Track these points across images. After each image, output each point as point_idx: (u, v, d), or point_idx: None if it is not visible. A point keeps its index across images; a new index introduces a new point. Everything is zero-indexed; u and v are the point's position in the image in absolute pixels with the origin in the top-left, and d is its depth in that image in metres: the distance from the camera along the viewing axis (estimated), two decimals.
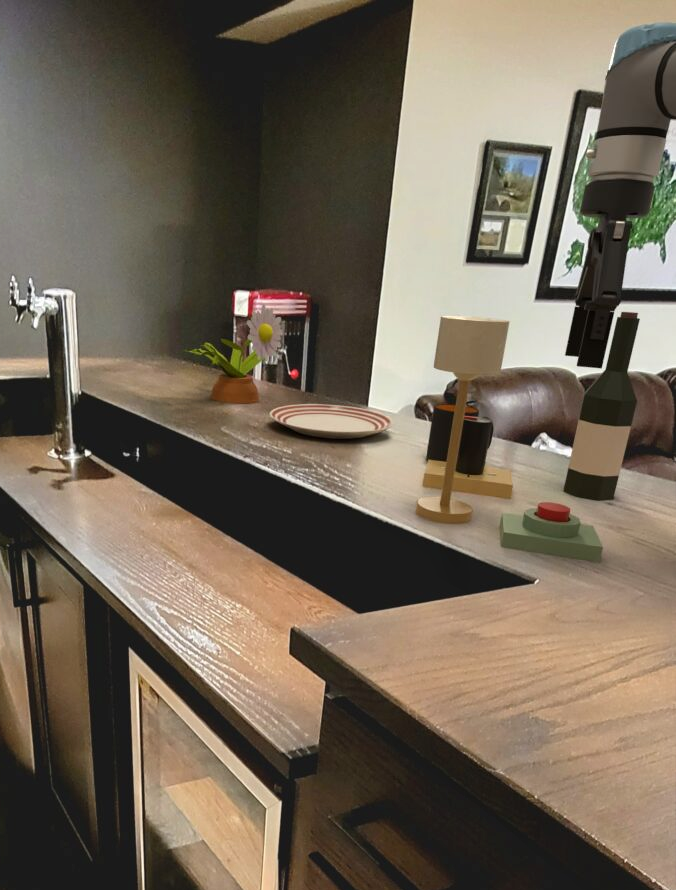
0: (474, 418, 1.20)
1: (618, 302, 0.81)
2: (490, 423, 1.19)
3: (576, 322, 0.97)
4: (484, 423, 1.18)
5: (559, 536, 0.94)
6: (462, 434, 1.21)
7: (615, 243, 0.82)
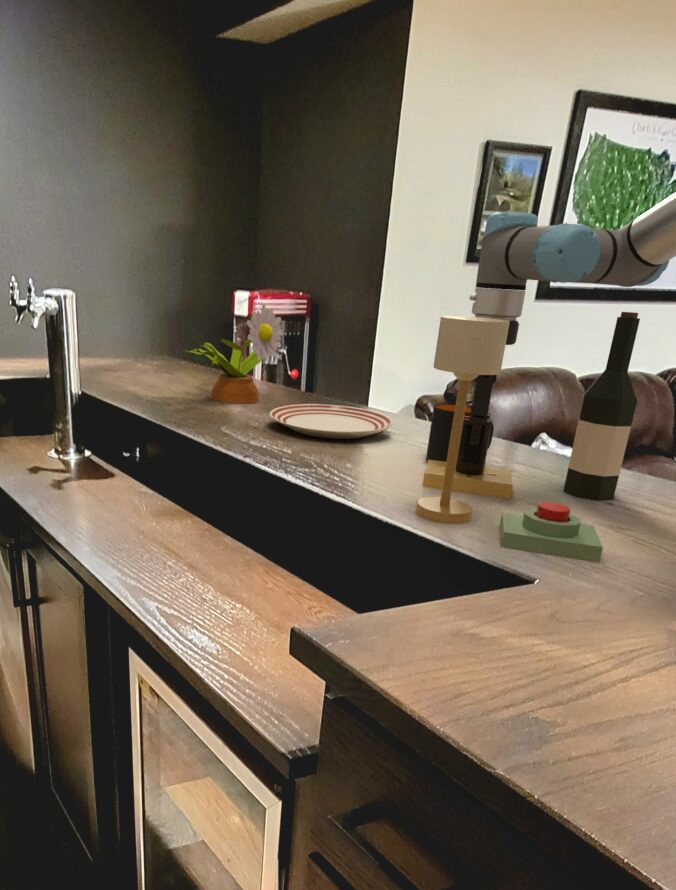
0: None
1: (485, 423, 1.15)
2: (490, 423, 1.19)
3: None
4: None
5: (559, 536, 0.94)
6: (462, 434, 1.21)
7: (484, 378, 1.13)
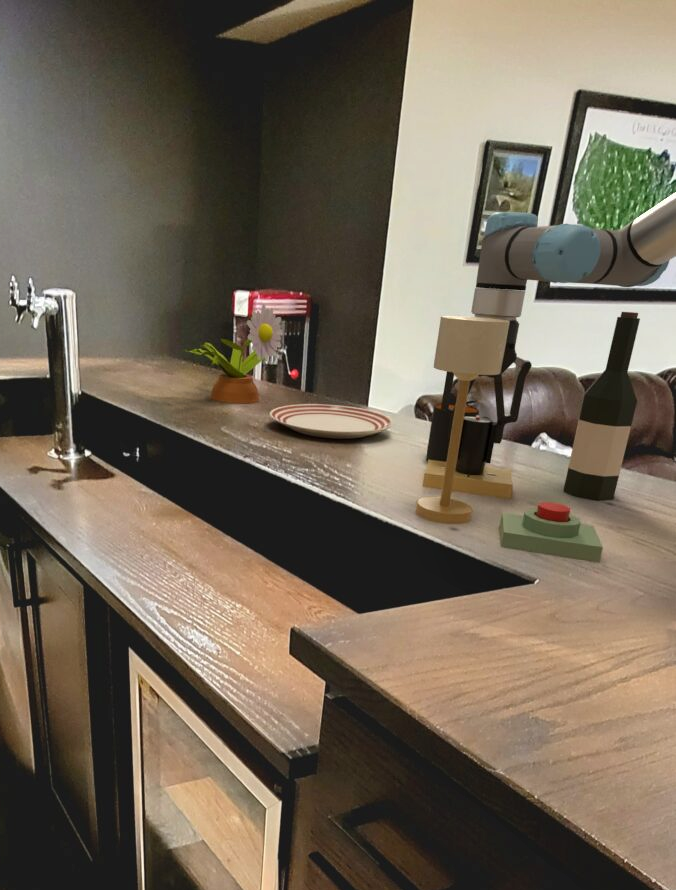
0: (475, 417, 1.21)
1: (441, 413, 1.21)
2: (469, 422, 1.19)
3: None
4: (464, 420, 1.20)
5: (559, 536, 0.94)
6: None
7: None
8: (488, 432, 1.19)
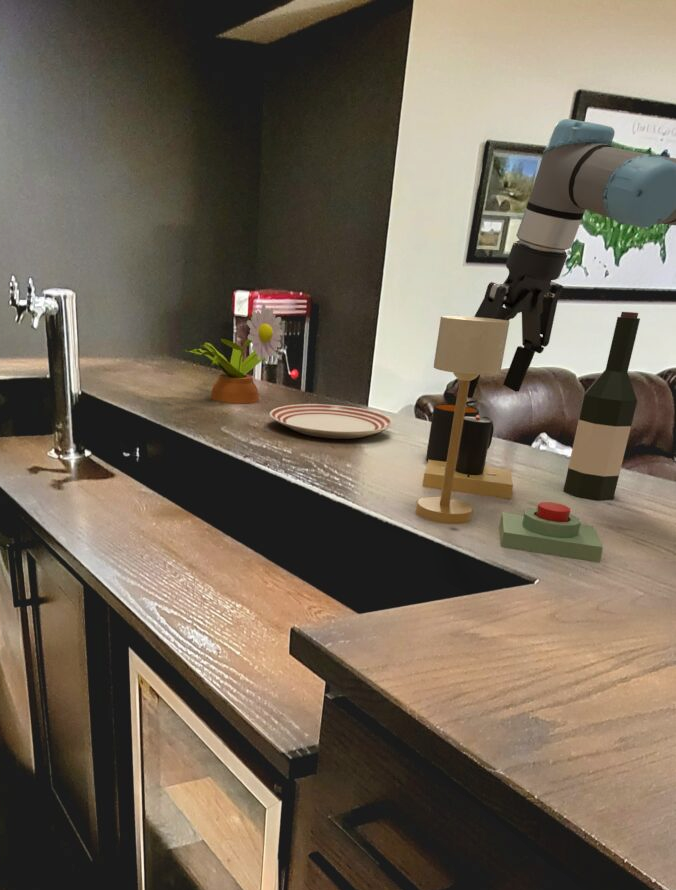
0: (475, 417, 1.21)
1: None
2: (470, 422, 1.19)
3: (515, 359, 1.14)
4: (464, 420, 1.20)
5: (559, 536, 0.94)
6: None
7: (488, 303, 1.02)
8: (488, 432, 1.19)
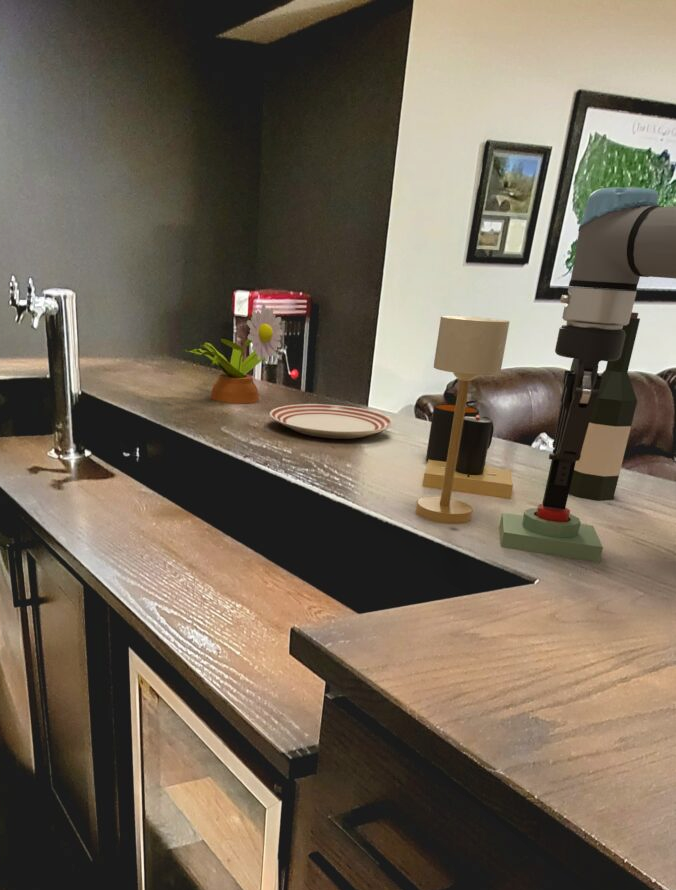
0: (475, 417, 1.21)
1: (577, 460, 0.91)
2: (470, 422, 1.19)
3: None
4: (464, 420, 1.20)
5: (559, 536, 0.94)
6: None
7: (580, 409, 0.88)
8: (488, 432, 1.19)
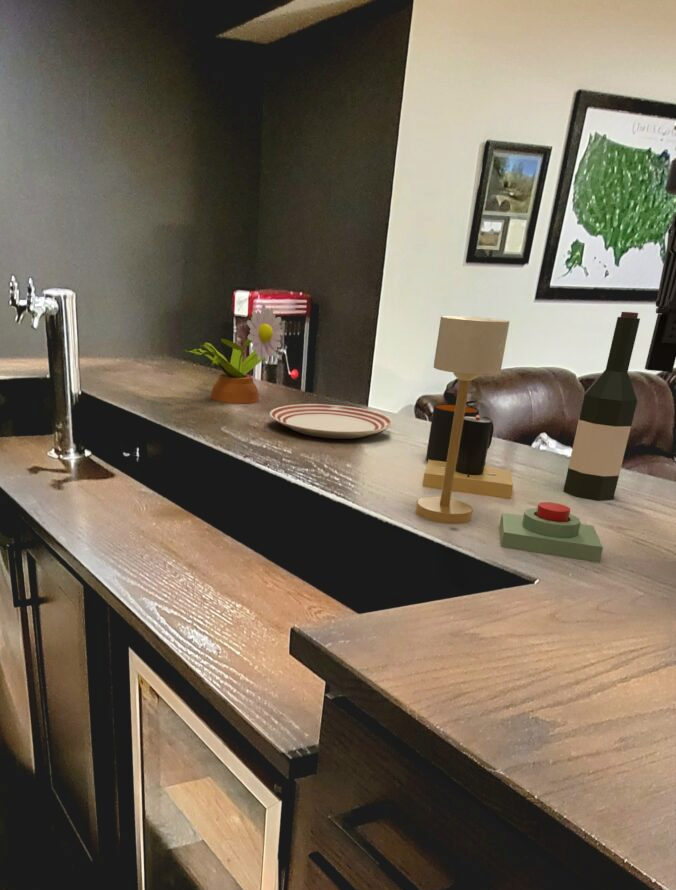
0: (475, 417, 1.21)
1: None
2: (470, 422, 1.19)
3: None
4: (464, 420, 1.20)
5: (559, 536, 0.94)
6: None
7: None
8: (488, 432, 1.19)
